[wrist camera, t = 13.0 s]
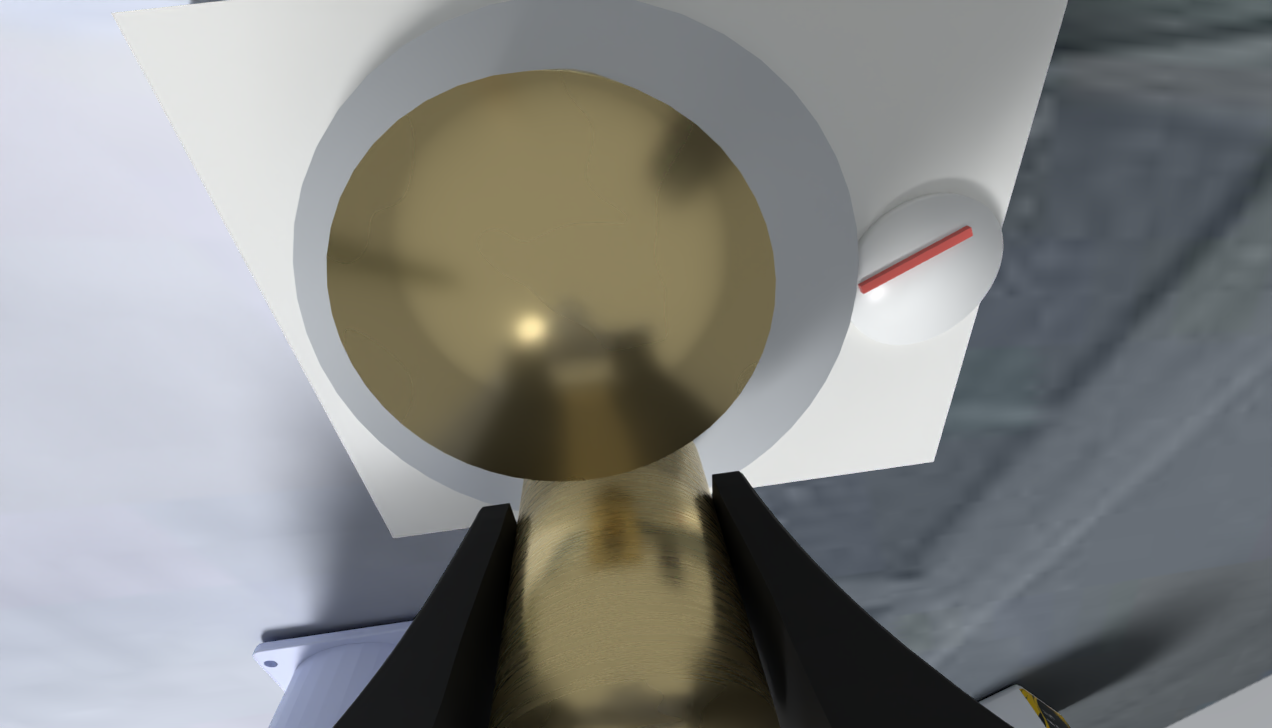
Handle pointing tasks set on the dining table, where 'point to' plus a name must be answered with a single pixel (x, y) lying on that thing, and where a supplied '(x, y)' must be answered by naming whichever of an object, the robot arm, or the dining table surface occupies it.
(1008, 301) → the dining table surface
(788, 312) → the kitchen scale
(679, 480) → the cylinder
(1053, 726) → the medicine bottle
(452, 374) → the cylinder
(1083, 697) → the dining table surface
